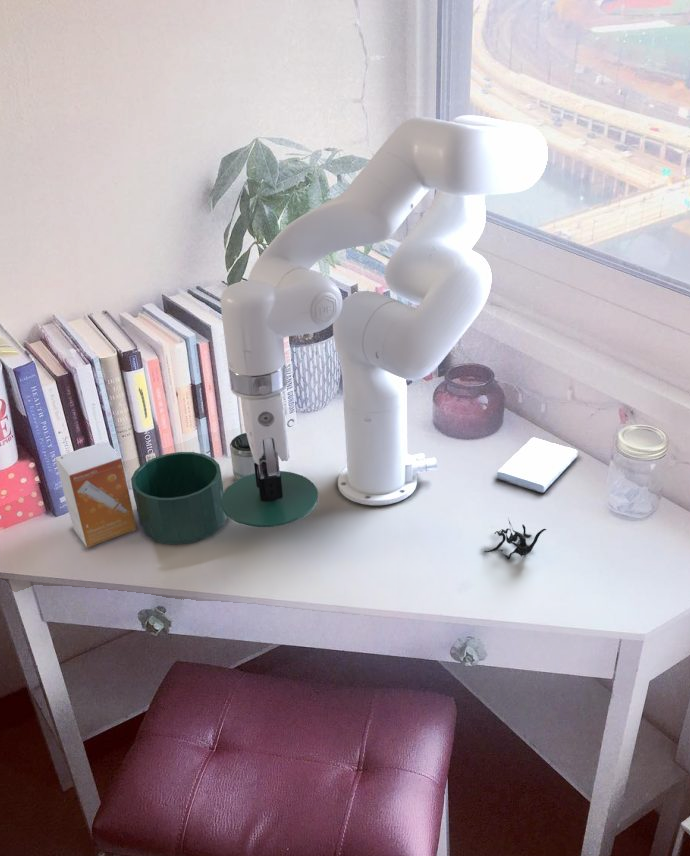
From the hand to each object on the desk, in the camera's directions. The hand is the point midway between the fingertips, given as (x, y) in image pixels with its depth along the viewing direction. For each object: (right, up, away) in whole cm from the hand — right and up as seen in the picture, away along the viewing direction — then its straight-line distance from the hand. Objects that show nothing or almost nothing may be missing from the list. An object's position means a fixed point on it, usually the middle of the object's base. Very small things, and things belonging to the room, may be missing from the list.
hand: (269, 491), depth 130 cm
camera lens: (-4, +2, +18) cm, 18 cm away
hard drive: (+42, +4, +17) cm, 45 cm away
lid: (0, -1, +1) cm, 1 cm away
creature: (+35, -8, 0) cm, 36 cm away
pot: (-14, -4, +10) cm, 17 cm away
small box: (-26, -6, +8) cm, 28 cm away
